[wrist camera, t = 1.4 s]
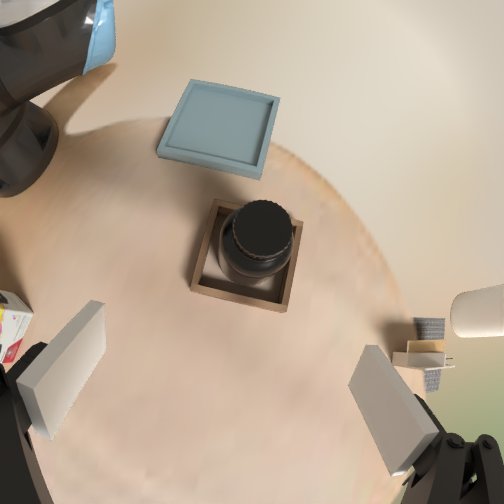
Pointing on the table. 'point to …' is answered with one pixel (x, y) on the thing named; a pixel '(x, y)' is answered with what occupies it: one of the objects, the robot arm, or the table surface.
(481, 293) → the cylindrical container
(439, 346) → the architectural model
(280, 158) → the table surface
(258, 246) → the supplement bottle
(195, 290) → the frame
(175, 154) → the tray
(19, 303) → the ink box
